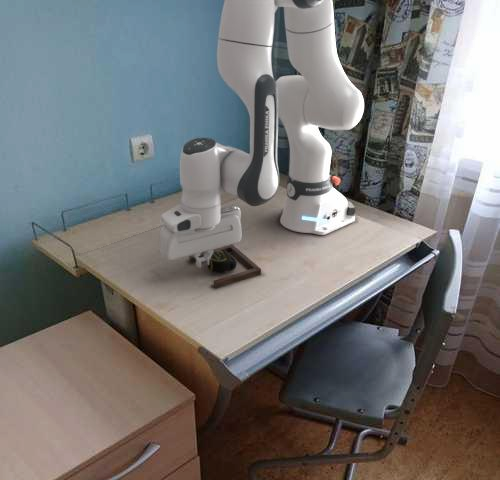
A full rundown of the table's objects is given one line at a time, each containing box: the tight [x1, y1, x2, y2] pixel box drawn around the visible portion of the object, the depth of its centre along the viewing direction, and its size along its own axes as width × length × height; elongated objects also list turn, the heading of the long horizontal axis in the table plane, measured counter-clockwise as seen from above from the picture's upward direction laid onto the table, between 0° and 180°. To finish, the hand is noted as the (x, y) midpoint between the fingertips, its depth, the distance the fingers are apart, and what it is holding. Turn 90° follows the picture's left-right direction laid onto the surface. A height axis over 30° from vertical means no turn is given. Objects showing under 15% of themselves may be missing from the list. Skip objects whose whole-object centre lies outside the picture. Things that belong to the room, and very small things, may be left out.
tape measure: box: [206, 249, 238, 274], centre depth 128 cm, size 7×7×4 cm
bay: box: [188, 244, 262, 289], centre depth 129 cm, size 13×14×2 cm
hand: (202, 265), depth 125 cm, fingers closed
